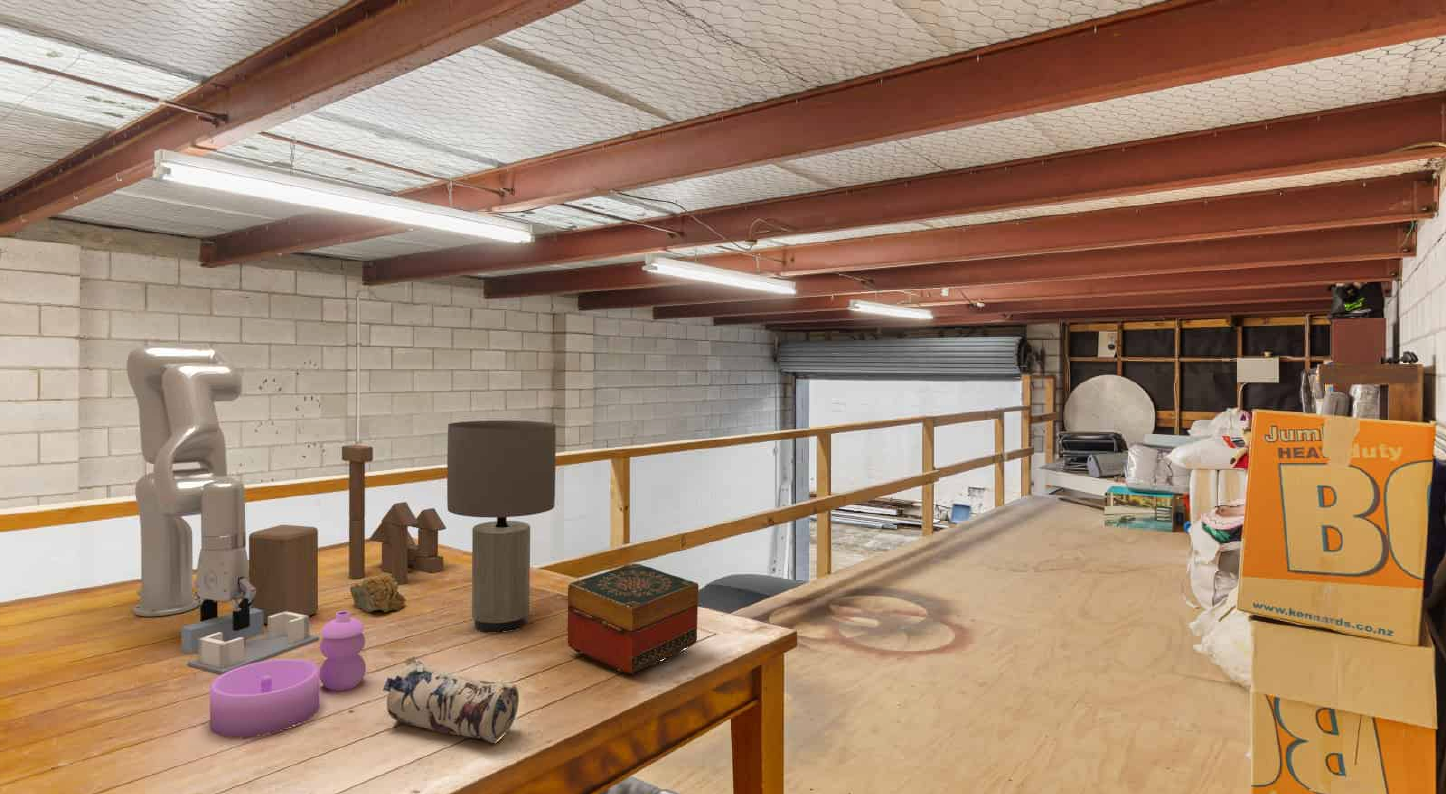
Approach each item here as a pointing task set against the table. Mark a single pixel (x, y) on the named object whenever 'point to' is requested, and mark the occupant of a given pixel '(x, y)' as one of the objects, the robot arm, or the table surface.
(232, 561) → the robot arm
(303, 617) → the endcap board
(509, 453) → the lamp
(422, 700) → the pencil case
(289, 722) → the container set
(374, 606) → the rock
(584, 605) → the decorative box
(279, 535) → the wooden block
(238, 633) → the blue-grey rectangular bar
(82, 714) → the table surface
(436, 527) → the building blocks
